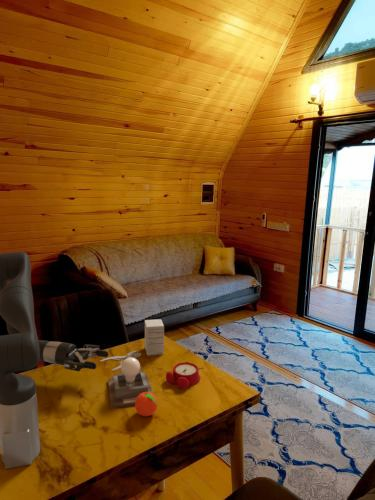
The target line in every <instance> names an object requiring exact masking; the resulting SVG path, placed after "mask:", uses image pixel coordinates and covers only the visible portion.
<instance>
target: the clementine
mask: <svg viewBox="0 0 375 500" xmlns="http://www.w3.org/2000/svg"><path fill="white" fill-rule="evenodd" d="M158 404H159V403H158V399H157V396H156V395H155V394H154V393H153V394H152V393H150V392H143V393H141V394H140V395H139V396H138V397H137V398H136V401H135V405H134V408H135V410H136V412H137V414H139V415H141V416H142V417H150V416H152V415H153V414H154V413H155V412H156V411H157V408H158Z"/></svg>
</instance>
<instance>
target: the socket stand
mask: <svg viewBox="0 0 375 500" xmlns="http://www.w3.org/2000/svg"><path fill="white" fill-rule="evenodd" d="M107 385H108V393H109V403H110V409H116V408H122V407H124V408H125V407H130V406H135V401H136V398H137V397H138V396H139V395H140V394H141V393H143V392H150V393H152V394H154V392H153V389H152V385H151V382H150V378H149V376H148V374H147V373H145V372H144V370H140V371H139V373H138V374H137V375H136V377H135V380H134V387H128V388H126V379H125V376H124V374H123V373H122V372H121V373H115V374H113V377H111V378H108V379H107Z"/></svg>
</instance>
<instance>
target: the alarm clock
mask: <svg viewBox="0 0 375 500" xmlns="http://www.w3.org/2000/svg"><path fill="white" fill-rule="evenodd" d="M202 369H204V367H200V368H199V366H197V365H196V364H195V363H192V362H188V361H186V362H185V361H183V362H179V363H177V364H174V366H173V368H172V371H167V372H166V374H165V379H166V381H165V383H166V384H167V385H169V386H171V387H174V385H173V384H175V385H176V387H178V388H179V389H180V390H181V389H183V390H185V389H187V388H189V387H190V386H194V385H196V384H198V383H199V382H200V380H201V376H200V374H199V370H202Z"/></svg>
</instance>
